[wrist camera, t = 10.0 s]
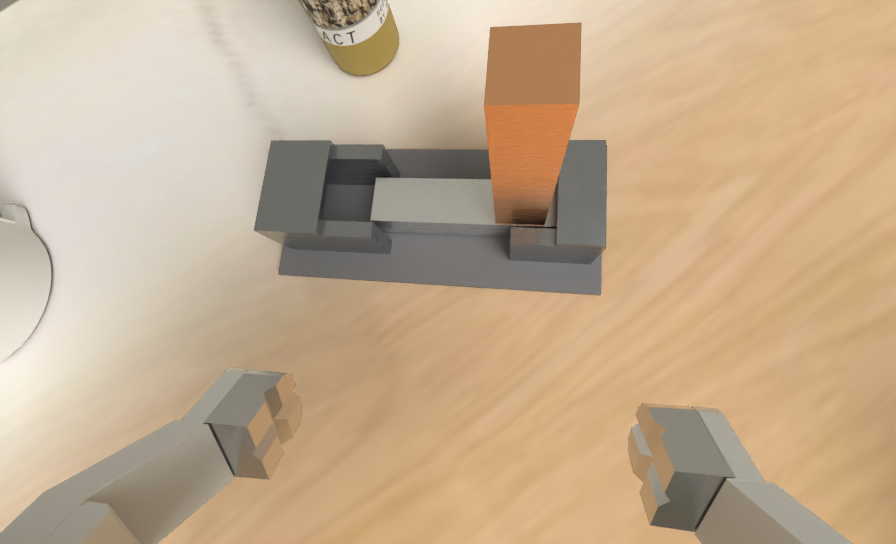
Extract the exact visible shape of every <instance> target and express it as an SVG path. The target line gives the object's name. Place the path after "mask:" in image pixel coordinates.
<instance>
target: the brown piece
mask: <svg viewBox="0 0 896 544" xmlns="http://www.w3.org/2000/svg"><path fill="white" fill-rule="evenodd" d="M580 60H581V23H565V24H545V25H526V26H506V27H490V38H489V50H488V63H487V75H486V88H485V101H484V109H485V119H486V130H487V140H488V150H489V161H490V171H491V179H434V178H376V182H375V189H374V197H373V204H372V212H371V219H370V221H372V222H373V223H374V224H375V225H376V226H377V227H378V228H379V229H380V230H382V231H385V232H410V233H435V234H459V235H484V236H508V237H511V227H520V228H548V229H556V219H557V191H558V176H559V173H560V169H561V166H562V162H563V159H564V156H565V152H566V149H567V145H568V142H569V138H570V135H571V131H572V128H573V124H574V121H575V117H576V114H577V110H578V107H579V99H580Z"/></svg>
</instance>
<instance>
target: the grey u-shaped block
mask: <svg viewBox="0 0 896 544" xmlns="http://www.w3.org/2000/svg"><path fill="white" fill-rule="evenodd" d="M376 178H400V172H399V170H398V169H397V167H396V165H395V164H394V162H393V160H392V159H391V157H390V155H389V154H388V152H387V150H386V149H385V147H384V145H334V144H333V143H332V142H331V141H271V145H270V150H269V156H268V161H267V166H266V171H265V176H264V181H263V186H262V191H261V196H260V202H259V207H258V212H257V217H256V222H255V227H254V231H256V232H258V233H260V234H262V235H264V236H266V237H268V238H271V239H273V240H275V241H277V242H279V243H281V244H283V245H285V246H287V247H289V248H291V249H296V250H316V251H336V252H355V253H375V254H391V246H392V240H391V239H390V238H389V237H388V236H387V235H386V234H385V233H384V232H383V231H382V230H380V229H379V228H378V227H377V226H376V225H375V224H374V223H373V222H356V221H329V220H322V217H323V211H324V205H325V198H326V192H327V186H328V185H374V186H375V182H376Z"/></svg>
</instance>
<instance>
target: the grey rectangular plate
mask: <svg viewBox="0 0 896 544" xmlns="http://www.w3.org/2000/svg"><path fill="white" fill-rule="evenodd" d="M386 150H387V152H388V154H389V155H390V157H391V159H392V160H393V162H394V164H395V165H396V167H397V169H398V170H399V172H400V178H434V179H491V171H490V161H489V150H392V149H386ZM374 189H375V186H374V185H328V186H327V192H326V198H325V205H324V211H323V217H322V220H329V221H356V222H372V221H370V219H371V212H372V204H373V197H374ZM383 232H384V233H385V234H386V235H387V236H388V237H389V238H390V239H391V240H392V246H391V254H375V253H355V252H336V251H316V250H296V249H291V248H289V247H287V246H285V245H284V246H283V251H282V257H281V263H280V268H279V274H280V275H290V276H306V277H321V278H337V279H353V280H368V281H384V282H400V283H415V284H431V285H447V286H462V287H478V288H494V289H510V290H525V291H541V292H557V293H572V294H588V295H601V257H602V253H601V254H600V255H599V256H598V257H597V258H596V259H595V260H594V261H593V262H592V264H591V265H590V264H571V263H551V262H531V261H512V260H510V237H508V236H484V235H459V234H435V233H410V232H385V231H383Z"/></svg>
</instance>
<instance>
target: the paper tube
mask: <svg viewBox="0 0 896 544" xmlns="http://www.w3.org/2000/svg"><path fill="white" fill-rule="evenodd" d="M299 2H300V4H301V5H302V7H303V9H304V10H305V12H306V14H307V15H308V17H309V19H310V20H311V22H312V24H313V25H314V27H315V29H316V30H317V32H318V34H319V35H320V37H321V38H322V40H323V42H324V43H325V45H326V47H327V48H328V50H329V52H330V53H331V55H332V57H333V59H334V60H335V62H336V63H337V64H338V66H339V67H340V68H341V69H343V70H344V71H346V72H348V73H351V74H354V75H369V74H373V73H376V72H378V71H380V70H381V69H383V68H384V67H386V66H387V65H388V64H389V63H390V62H391V60H392V59H393V57H394V56H395V54H396V51H397V49H398V45H399V34H398V30H397V27H396V24H395V21H394V18H393V15H392V12H391V9H390V7H389V4H388V0H299Z"/></svg>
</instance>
